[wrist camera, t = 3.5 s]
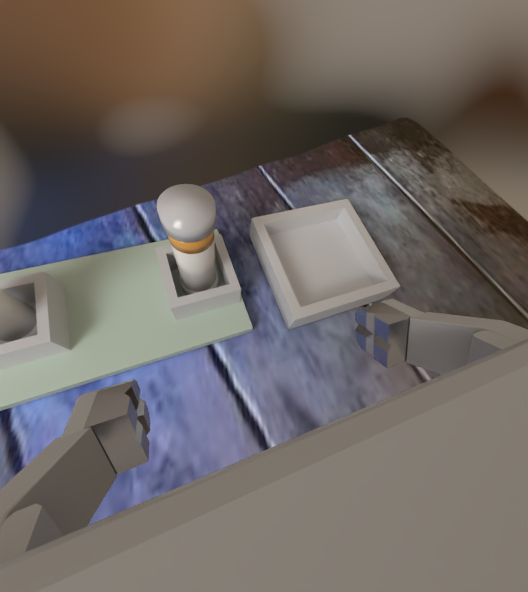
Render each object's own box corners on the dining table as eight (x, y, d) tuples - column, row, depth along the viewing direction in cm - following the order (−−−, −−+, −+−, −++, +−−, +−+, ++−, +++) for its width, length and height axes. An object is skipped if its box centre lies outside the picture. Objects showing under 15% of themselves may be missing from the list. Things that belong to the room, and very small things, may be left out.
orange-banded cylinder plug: (222, 294, 27) (222, 221, 17) (186, 304, 26) (163, 233, 16) (212, 264, 28) (206, 180, 18) (177, 272, 27) (151, 189, 17)
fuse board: (251, 331, 27) (256, 317, 23) (-14, 415, 21) (-62, 414, 18) (217, 234, 31) (216, 210, 27) (-13, 283, 25) (-52, 260, 22)
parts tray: (384, 298, 31) (400, 286, 28) (287, 329, 27) (294, 320, 25) (337, 215, 35) (347, 198, 32) (249, 235, 32) (251, 218, 29)
